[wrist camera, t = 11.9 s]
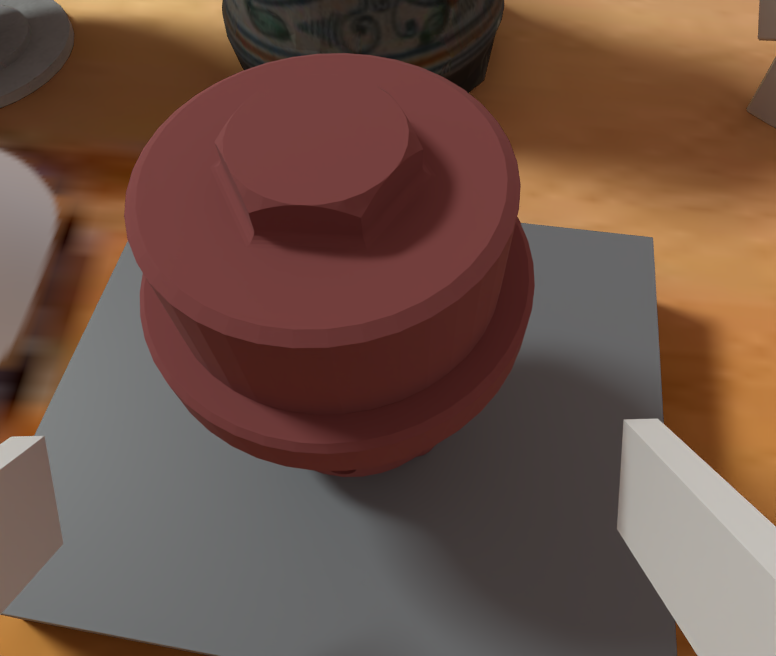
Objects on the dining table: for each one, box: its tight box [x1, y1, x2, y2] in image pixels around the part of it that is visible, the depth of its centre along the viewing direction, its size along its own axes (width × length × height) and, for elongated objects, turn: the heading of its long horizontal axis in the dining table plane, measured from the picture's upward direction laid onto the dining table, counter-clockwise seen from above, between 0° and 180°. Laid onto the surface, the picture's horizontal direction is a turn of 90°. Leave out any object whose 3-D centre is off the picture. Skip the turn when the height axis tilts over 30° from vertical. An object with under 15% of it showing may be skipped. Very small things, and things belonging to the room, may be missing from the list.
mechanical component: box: [124, 53, 535, 477], centre depth 18 cm, size 12×10×10 cm
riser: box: [1, 223, 677, 656], centre depth 25 cm, size 22×18×4 cm
